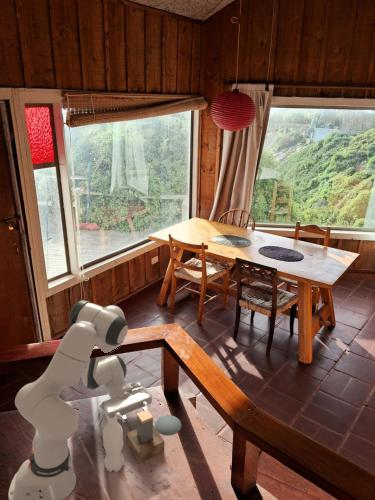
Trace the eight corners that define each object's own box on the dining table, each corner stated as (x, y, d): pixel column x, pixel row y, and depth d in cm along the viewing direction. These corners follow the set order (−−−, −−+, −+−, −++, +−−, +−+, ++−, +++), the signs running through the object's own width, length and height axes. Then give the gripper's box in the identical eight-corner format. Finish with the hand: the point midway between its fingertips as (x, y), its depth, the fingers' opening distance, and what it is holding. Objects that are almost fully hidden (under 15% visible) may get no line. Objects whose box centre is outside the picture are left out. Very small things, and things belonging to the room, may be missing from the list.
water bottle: (103, 475, 149) (99, 422, 140) (106, 458, 156) (103, 407, 146) (122, 475, 149) (120, 422, 140) (125, 458, 156) (123, 407, 147)
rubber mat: (154, 437, 166) (154, 435, 165) (155, 417, 176) (155, 415, 176) (181, 437, 166) (181, 435, 166) (180, 416, 176) (180, 415, 176)
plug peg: (142, 453, 157) (142, 421, 151) (137, 445, 161) (136, 413, 155) (152, 448, 160) (152, 416, 154) (147, 440, 163) (147, 409, 157)
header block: (138, 465, 153) (138, 453, 151) (126, 444, 162) (126, 433, 160) (164, 452, 159) (164, 441, 157) (151, 433, 168) (151, 422, 165)
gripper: (98, 397, 167) (111, 419, 156) (143, 381, 177) (158, 400, 166) (98, 409, 169) (111, 432, 158) (143, 392, 179) (158, 412, 169)
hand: (136, 416), depth 162 cm, fingers open, 8 cm apart
